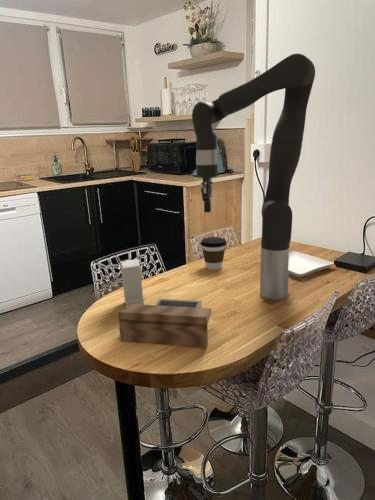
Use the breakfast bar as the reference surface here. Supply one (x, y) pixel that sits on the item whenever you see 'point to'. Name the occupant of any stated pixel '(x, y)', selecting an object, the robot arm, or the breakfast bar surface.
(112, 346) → the breakfast bar surface
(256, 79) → the robot arm
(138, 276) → the skincare box
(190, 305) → the slate tray
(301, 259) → the salad plate
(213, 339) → the breakfast bar surface
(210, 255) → the coffee cup
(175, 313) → the walnut cantilever shelf
